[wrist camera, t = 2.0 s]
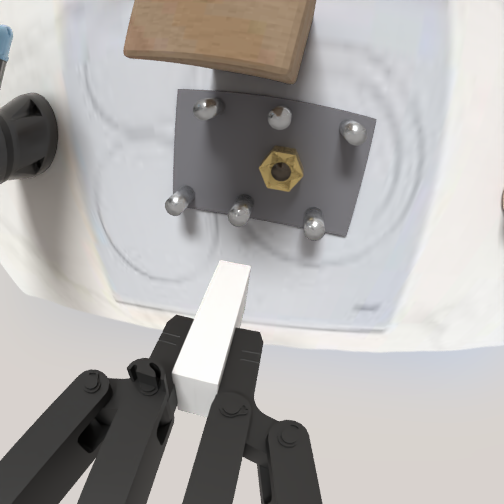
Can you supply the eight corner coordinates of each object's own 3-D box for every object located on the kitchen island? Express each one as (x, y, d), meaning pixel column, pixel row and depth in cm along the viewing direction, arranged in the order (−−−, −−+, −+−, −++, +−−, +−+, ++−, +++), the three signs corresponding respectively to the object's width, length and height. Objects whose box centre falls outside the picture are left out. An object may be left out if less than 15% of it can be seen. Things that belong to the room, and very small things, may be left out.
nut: (260, 177, 36) (256, 186, 33) (264, 143, 34) (261, 149, 31) (300, 184, 36) (299, 194, 33) (306, 150, 33) (307, 157, 30)
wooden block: (295, 85, 30) (289, 78, 13) (212, 68, 30) (118, 58, 13) (314, 12, 24) (327, -67, 8) (230, -3, 24) (157, -74, 8)
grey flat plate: (173, 204, 40) (172, 205, 40) (179, 89, 32) (177, 89, 31) (345, 234, 39) (346, 236, 38) (375, 118, 30) (376, 119, 30)
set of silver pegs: (178, 200, 39) (165, 214, 36) (183, 95, 32) (168, 97, 28) (334, 228, 38) (338, 245, 34) (360, 121, 30) (369, 126, 26)
